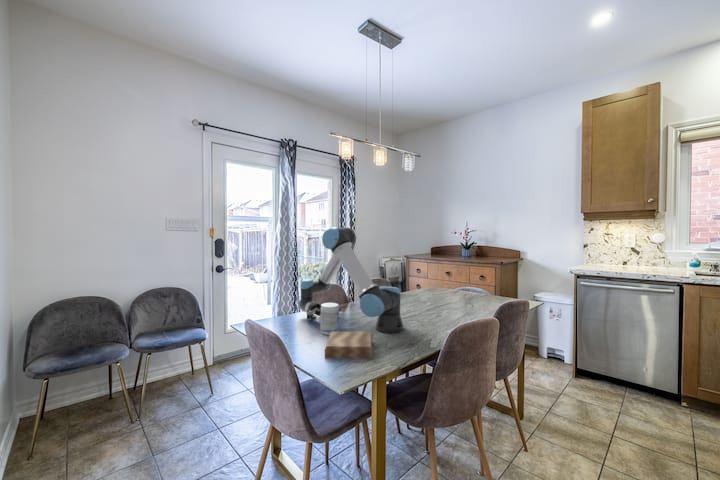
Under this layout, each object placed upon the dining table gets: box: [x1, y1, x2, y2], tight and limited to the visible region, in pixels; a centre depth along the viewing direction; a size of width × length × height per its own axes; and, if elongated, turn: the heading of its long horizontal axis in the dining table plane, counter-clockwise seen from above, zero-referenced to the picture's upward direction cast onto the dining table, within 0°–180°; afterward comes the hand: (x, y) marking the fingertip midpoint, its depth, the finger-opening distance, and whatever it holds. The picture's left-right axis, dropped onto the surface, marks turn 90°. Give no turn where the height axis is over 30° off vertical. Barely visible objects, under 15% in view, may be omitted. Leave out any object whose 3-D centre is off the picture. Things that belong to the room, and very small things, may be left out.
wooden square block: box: [324, 331, 373, 360], centre depth 139 cm, size 20×20×5 cm
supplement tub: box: [320, 302, 340, 336], centre depth 162 cm, size 10×10×15 cm
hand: (331, 317), depth 161 cm, fingers open, 13 cm apart
